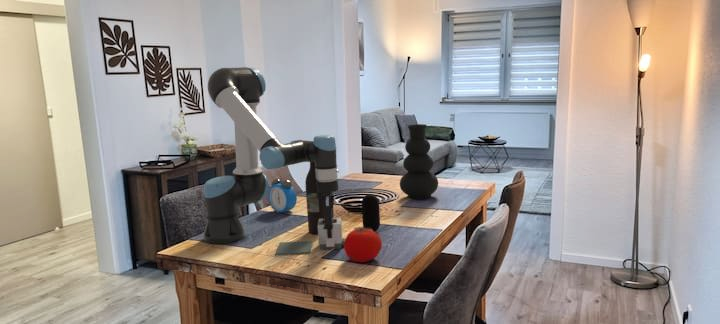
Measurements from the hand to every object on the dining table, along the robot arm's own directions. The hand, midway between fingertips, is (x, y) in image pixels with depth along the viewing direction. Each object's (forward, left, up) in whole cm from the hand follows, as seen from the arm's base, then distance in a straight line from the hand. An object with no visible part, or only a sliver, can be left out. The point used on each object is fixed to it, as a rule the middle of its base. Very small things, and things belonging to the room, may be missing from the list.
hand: (330, 242), depth 181 cm
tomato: (+11, -16, -2) cm, 20 cm away
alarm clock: (-24, +52, -1) cm, 57 cm away
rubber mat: (-13, -1, -1) cm, 13 cm away
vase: (+40, +65, -1) cm, 76 cm away
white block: (0, 0, +1) cm, 1 cm away
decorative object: (+15, +13, -1) cm, 20 cm away
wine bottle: (-6, +18, -1) cm, 19 cm away
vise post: (+6, 0, -1) cm, 6 cm away
